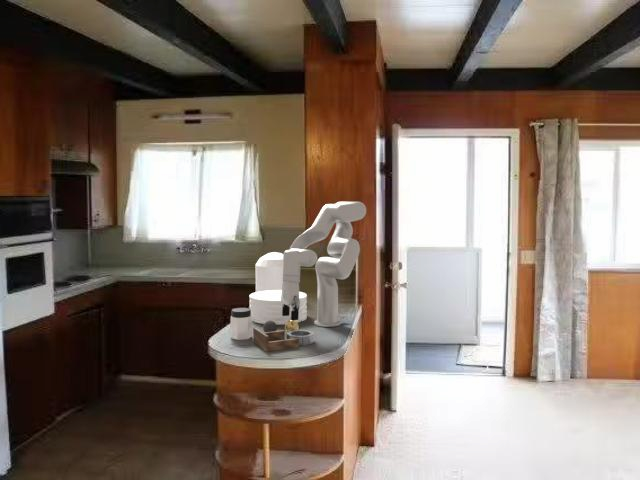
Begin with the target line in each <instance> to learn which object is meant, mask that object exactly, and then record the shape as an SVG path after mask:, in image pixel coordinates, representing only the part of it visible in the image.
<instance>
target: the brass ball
mask: <svg viewBox="0 0 640 480" xmlns="http://www.w3.org/2000/svg"><path fill="white" fill-rule="evenodd" d="M299 327H300V326H299V322H298V323H297V322H296V321H295V320H289V321H288V322H287V323H286V324H284V329H285V330H284V331H285V332H286V333H287V332H289V331H294V330H299Z"/></svg>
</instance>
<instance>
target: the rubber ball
mask: <svg viewBox="0 0 640 480" xmlns="http://www.w3.org/2000/svg"><path fill="white" fill-rule="evenodd" d="M262 325H263V326H262V329H263V333H265V332H273V331H278V330H277V329H278V326H277V325H276V323H275V322H274V321H271V320H269V321H267V322H265V323H264V324H262Z"/></svg>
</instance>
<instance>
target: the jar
mask: <svg viewBox="0 0 640 480" xmlns="http://www.w3.org/2000/svg"><path fill="white" fill-rule="evenodd" d="M230 311H231V316H230V339H232V340H236V341H242V340H243V341H244V340H245V341H246V340H250V339H251V338H252V337H253V332H252V331H253V328H252V327H253V321H252V315H251V309H249V307H248V308H247V307H237V308H236V307H235V308H232V309H231V310H230Z"/></svg>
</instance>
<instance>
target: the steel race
mask: <svg viewBox="0 0 640 480" xmlns="http://www.w3.org/2000/svg"><path fill="white" fill-rule="evenodd" d="M314 337H315V333H314V332H313V331H312V330H307V329H298V330H294V331H289V332H287V331H286V340H287V339H295V338H298V346H309V345H311V344H313V343H314V342H315V338H314Z"/></svg>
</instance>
